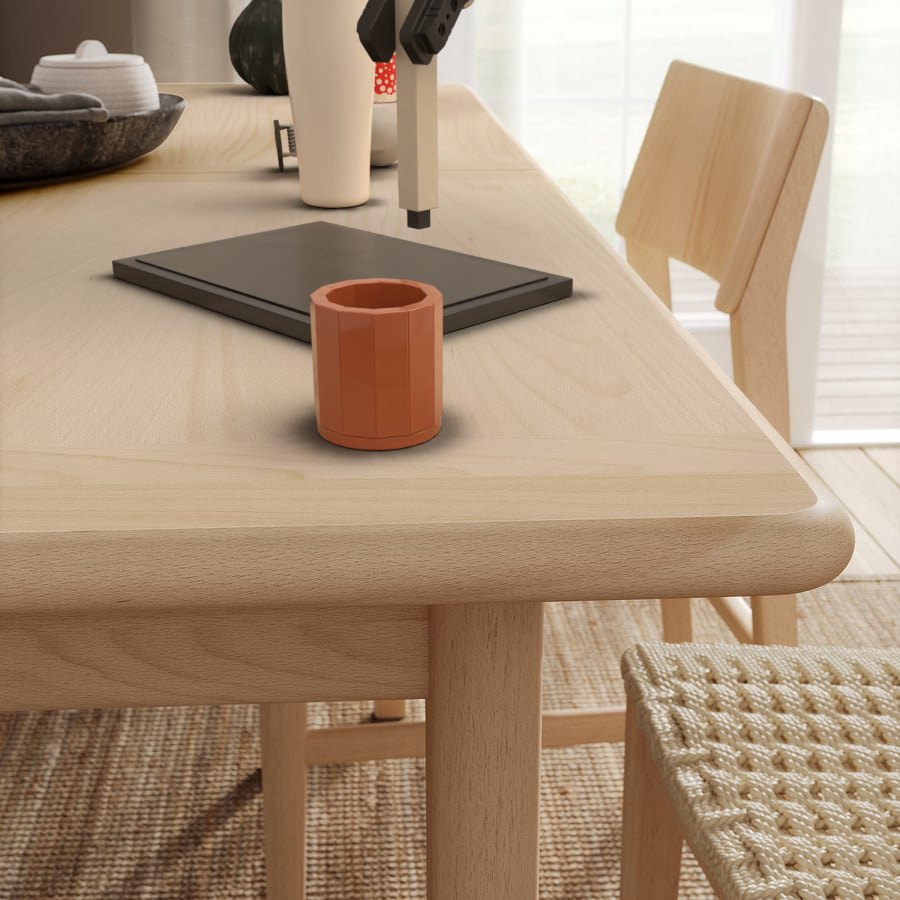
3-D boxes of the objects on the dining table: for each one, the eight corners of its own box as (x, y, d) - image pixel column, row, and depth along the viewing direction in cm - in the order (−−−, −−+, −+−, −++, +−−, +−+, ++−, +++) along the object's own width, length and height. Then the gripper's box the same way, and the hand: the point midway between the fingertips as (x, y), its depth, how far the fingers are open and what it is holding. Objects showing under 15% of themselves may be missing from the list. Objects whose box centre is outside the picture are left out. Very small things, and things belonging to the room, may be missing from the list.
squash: (326, 44, 172) (259, -38, 163) (371, 56, 161) (301, -32, 151) (261, 114, 172) (190, 36, 162) (302, 131, 160) (228, 47, 151)
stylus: (398, 227, 61) (392, -41, 56) (419, 222, 62) (415, -42, 57) (418, 231, 60) (414, -41, 55) (438, 227, 61) (436, -42, 56)
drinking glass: (273, 202, 90) (262, -6, 85) (343, 191, 95) (336, -8, 89) (327, 215, 86) (318, -4, 80) (397, 203, 90) (394, -6, 84)
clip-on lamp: (297, 181, 115) (265, 170, 97) (289, 115, 114) (256, 91, 96) (416, 170, 115) (406, 156, 97) (409, 103, 114) (398, 77, 96)
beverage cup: (349, 99, 156) (345, -14, 150) (392, 97, 158) (390, -15, 152) (366, 104, 150) (362, -13, 145) (409, 101, 153) (408, -14, 147)
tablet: (113, 276, 69) (111, 258, 69) (321, 234, 80) (321, 218, 79) (358, 359, 55) (357, 337, 55) (573, 295, 66) (573, 276, 65)
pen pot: (292, 426, 47) (284, 294, 45) (383, 396, 51) (380, 271, 48) (374, 461, 44) (371, 320, 42) (466, 426, 47) (467, 294, 45)
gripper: (380, -265, 61) (242, -7, 57) (622, -292, 55) (489, -3, 50) (435, -145, 68) (315, 96, 63) (658, -156, 61) (543, 112, 56)
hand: (392, 51), depth 56 cm, fingers closed on stylus, 2 cm apart
